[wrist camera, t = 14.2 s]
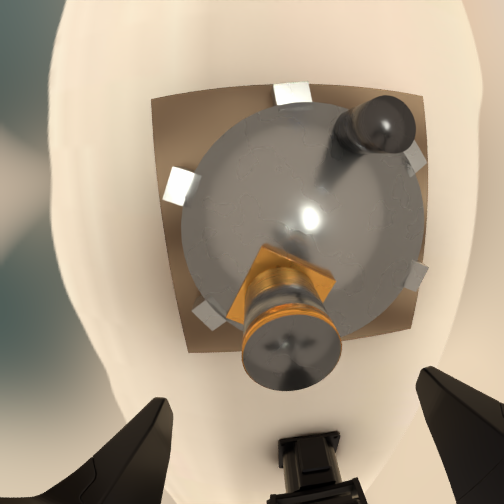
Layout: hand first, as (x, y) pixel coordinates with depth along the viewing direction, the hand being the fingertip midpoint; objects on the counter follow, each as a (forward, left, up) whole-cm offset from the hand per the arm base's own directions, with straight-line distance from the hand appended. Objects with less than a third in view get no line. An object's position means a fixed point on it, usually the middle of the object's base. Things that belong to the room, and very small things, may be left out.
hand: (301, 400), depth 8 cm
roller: (0, 0, -8) cm, 8 cm away
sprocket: (+3, -2, -9) cm, 10 cm away
